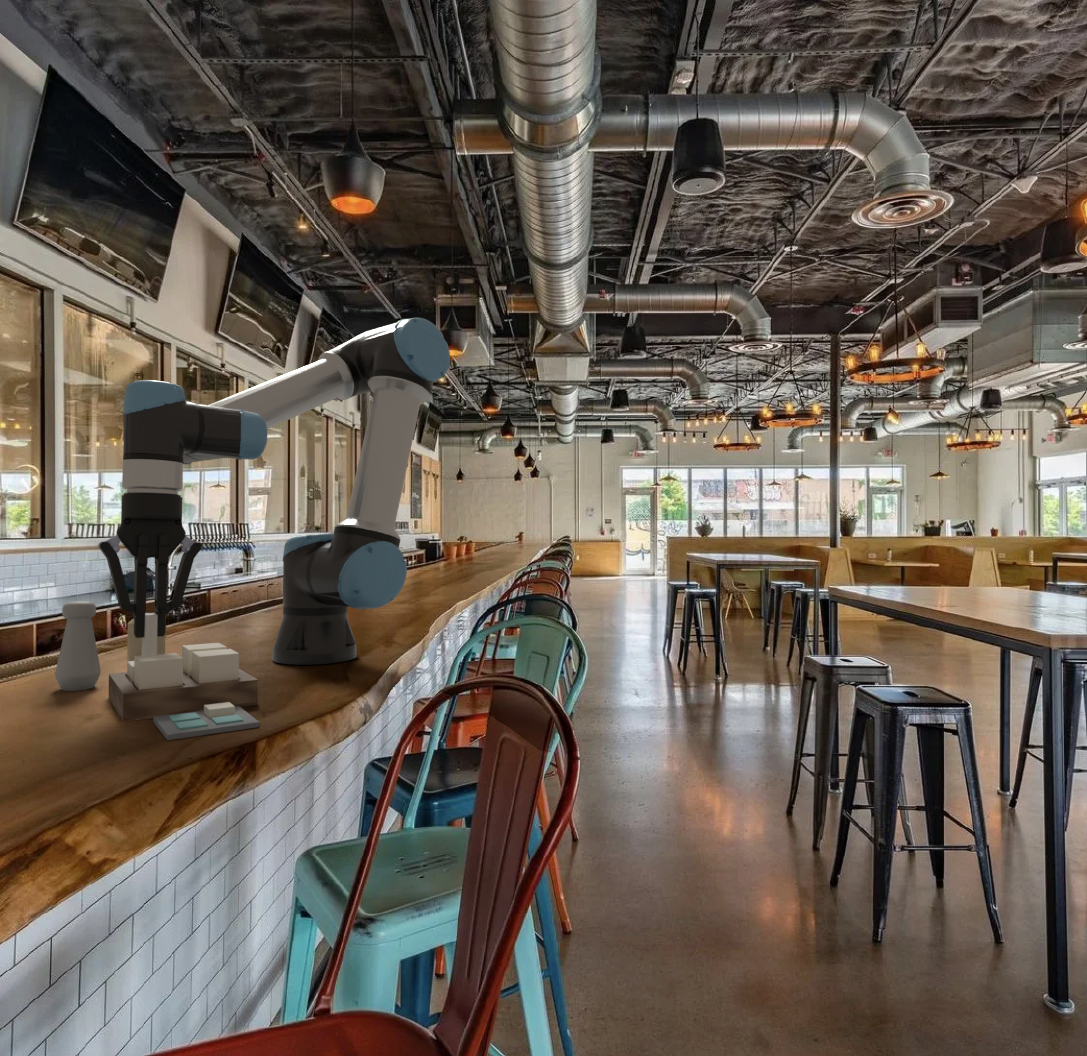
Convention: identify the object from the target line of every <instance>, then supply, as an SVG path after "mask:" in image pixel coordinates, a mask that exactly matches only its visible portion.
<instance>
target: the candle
mask: <svg viewBox="0 0 1087 1056" xmlns="http://www.w3.org/2000/svg"><path fill="white" fill-rule="evenodd" d="M126 643H127V646H126V647H127V651H126V653H127V654H126V658H127V659H126V662H127V661H134V656H142V638H136V637H135V635H134V618H133V619H131V620H129V621H128V623H127V642H126ZM159 654H166V634H165V635H164V636H159V637H157V655H159Z"/></svg>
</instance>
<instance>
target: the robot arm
mask: <svg viewBox="0 0 1087 1056" xmlns="http://www.w3.org/2000/svg"><path fill="white" fill-rule="evenodd" d="M450 353H451V352H450V349H449V345H448V342H447V341H446V340H445V338H444V334H443V333H442V331H441V330H440V329H439V327H438V326H436V325H435V324H434V323H433V322H431V321H430V320H428V319H425V318H423V317H412V318H411V317H410V318H402V319H400V320H398V321H397V322H394V323H391V324H387V325H383V326H380V327H376V328H373V329H369V330H366V331H364V332H362V333H360V334H358V335H356V336H354V337H353V338H351V339H350V340H348V341H346V342H343V343H342V344H340V345H337V346H336V347H334V348H331V349H330V350H328V351H325V352H322V353H321V354H320V355H319V357H318V360H317V361H315V362H312V363H310V364H307V365H304V366H302V367H300V368H298V369H295V370H292V371H289V372H287V373H285V374H282V375H279V376H277V377H275V378H273V379H269V380H267V381H264V382H263V383H260V384H258V385H255V386H252V387H250V388H248V389H247V388H246V389H245V390H243V391H240V392H237V393H235V394H232V395H230V396H228V397H225V398H223V399H221V400H218V401H215V402H213V403H209V404H207V405H206V404H199V403H194V402H191V401H188V400H187V397H186V394H185V389H184V388H183V387H182V386H181V385H178V384H176V383H172V382H168V381H163V380H162V381H161V380H151V379H145V380H144V379H143V380H142V379H140V380H135V381H132V382H130V383H128V384H127V385H126V388H125V392H124V399H123V410H122V417H123V418H122V421H123V422H122V425H123V426H122V430H123V431H122V432H123V433H122V435H123V438H122V440H123V441H122V443H123V445H122V448H123V450H122V452H123V453H122V476H121V477H122V479H121V482H122V483H121V488H123V489H124V490H126V492H123V494H122V495H121V505H120V506H121V507H120V508H121V510H120V513H121V515H120V516H121V517H120V520H121V521H120V524H119V526H118V528H117V530H116V534H115V535H114V536H112V537H110V538H108V539H107V540H104V541H100V542H99V543H98V544H97V547H98V549H99V550H100V552H101V553H102V554H103V556H104V557H105V558H106V561H107V565H108V569H109V573H110V577H111V580H112V585H113V588H114V592H115V596H116V599H117V603H118V607H119V609H121V610H123V611H125V612H129V613H131V614H133V619H134V635H135V637H136V638H142V656H147V655H157V637H159V636H164V635H165V636H166V631H167V630H166V629H167V614H168V612H170V611H172V610H175V609H179V608H180V607H182V602H183V599H184V595H185V593H186V592H185V591H186V588H187V584H188V581H189V578H190V573H191V570H192V567H193V564H194V563H193V562H194V560H195V558H196V557H197V555H198V554H199V552H200V551H201V549H202V548H203V545H202V543H201V542H198V541H195V540H193V539H192V538H190V537H189V536H187V535H186V533H187V532H186V530H185V529H184V526H183V497H182V495H181V494H179V492H181V491H182V490H183V489H184V488H183V487H184V485H183V484H184V478H183V476H184V465H190V464H192V463H199V462H204V461H213V460H218V459H236V460H237V461H241V460H249V461H250V460H257V459H258V458H260V457H261V456H262V455H263V453H264V451H265V449H266V446H267V442H268V429H271V428H273V427H276V426H277V425H280V424H282V423H284V422H286V421H289V420H291V419H293V418H294V419H295V417H298V416H300V415H302V414H304V413H306V412H309V411H311V410H314V409H315V408H318V407H320V406H322V405H324V404H327V403H329V402H331V401H334V400H336V399H338V400H339V401H340V400H341V401H346V400H349V399H350V398H353V397H356V396H359V395H362V394H366V393H372V394H373V396H372V401H371V406H370V410H369V416H368V417H367V418H368V420H367V423H366V427H365V432H364V437H363V441H362V446H361V450H360V454H359V459H358V464H357V468H356V472H355V473H356V474H355V478H354V482H353V485H352V486H353V487H352V491H351V495H350V499H349V505H348V507H347V509H348V510H347V513H346V517H345V519H343V520H342V521H340V522H339V523H336V524H335V526H334V529H333V530H334V531H333V533H313V534H304V535H298V536H293V537H290V538H288V539H287V540H286V542H285V543H284V545H283V546H284V548H283V555H282V562H283V564H282V565H283V568H282V569H283V572H282V573H283V574H282V575H283V576H282V577H283V579H282V580H283V581H282V584H283V585H282V590H283V591H282V603H283V604H282V619H281V620H282V621H281V622H280V626H279V629H278V631H277V635H276V638H275V640H274V643H273V646H272V649H271V650H272V651H271V652H272V653H271V654H272V655H271V656H272V657H271V659H272V661H273V662H274V663H278V664H283V665H297V666H298V665H300V666H301V665H305V666H307V665H310V666H311V665H326V664H327V665H328V664H335V663H336V664H337V663H344V662H347V661H351V660H353V659H356V658H357V642H356V640H355V637H354V633H353V631H352V627H351V624H350V621H349V617H348V608H353V609H357V610H367V609H369V610H370V609H379V608H382V607H385V606H386V605H388V604H390V603H391V602H392V601H393V600H394V599H396V598H397V596H399V594H400V592H401V591H402V589H403V587H404V585H405V582H406V580H407V574H408V568H407V567H408V566H407V561H406V560H405V559H404V557H405V556H404V554H403V552H402V551H401V550H400V543H401V537H400V535H399V534H398V532H397V531H396V529H395V526H396V521H397V517H398V512H399V508H400V503H401V498H402V492H403V488H404V483H405V478H406V474H407V469H408V466H409V465H408V463H409V459H410V453H411V450H412V445H413V440H414V435H415V429H416V425H417V422H418V421H417V420H418V417H419V411H420V406H421V405H423V404H425V403H426V402H428V401H430V398H431V394H432V390H433V385H434V381H438V380H440V379H441V378H442V377H444V376H445V375H446V373H447V372H448V370H449V367H450V362H451V355H450ZM120 543H121V544H122V545H123V546H124V547H125V548H126V550H127V551H128V552H129V553H130V555H131V556H132V557H133V558H134V559H133V561H134V562H133V563H134V573H133V574H134V578H133V579H134V581H133V584H134V585H133V602H131V599H130V595H129V593H128V587H127V584H126V580H125V576H124V572H123V568H122V565H121V561H120V557H119V555H118V553H119V552H120V550H121V547H120ZM180 545H181V552H182V553H183V554H182V555H181V558H180V561H179V565H178V569H177V572H176V576H175V579H174V582H173V585H172V589H171V593H170V596H169V598H168V569H169V567H168V565H169V557H170V556H171V555H172V554H173V553H174V552H175V550H176V549H178V547H179V546H180ZM151 558H154V605H153V606H154V608H153V609H154V612H146V611H147V585H148V584H147V582H148V581H147V580H148V578H147V577H148V576H147V575H148V564H149V563H148V562H149V561H148V560H149V559H151Z"/></svg>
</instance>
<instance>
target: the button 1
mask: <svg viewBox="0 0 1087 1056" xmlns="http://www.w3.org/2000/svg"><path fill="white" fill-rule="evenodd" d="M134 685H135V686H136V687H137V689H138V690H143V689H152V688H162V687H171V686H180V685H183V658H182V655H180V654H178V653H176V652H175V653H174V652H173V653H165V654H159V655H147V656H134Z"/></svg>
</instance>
